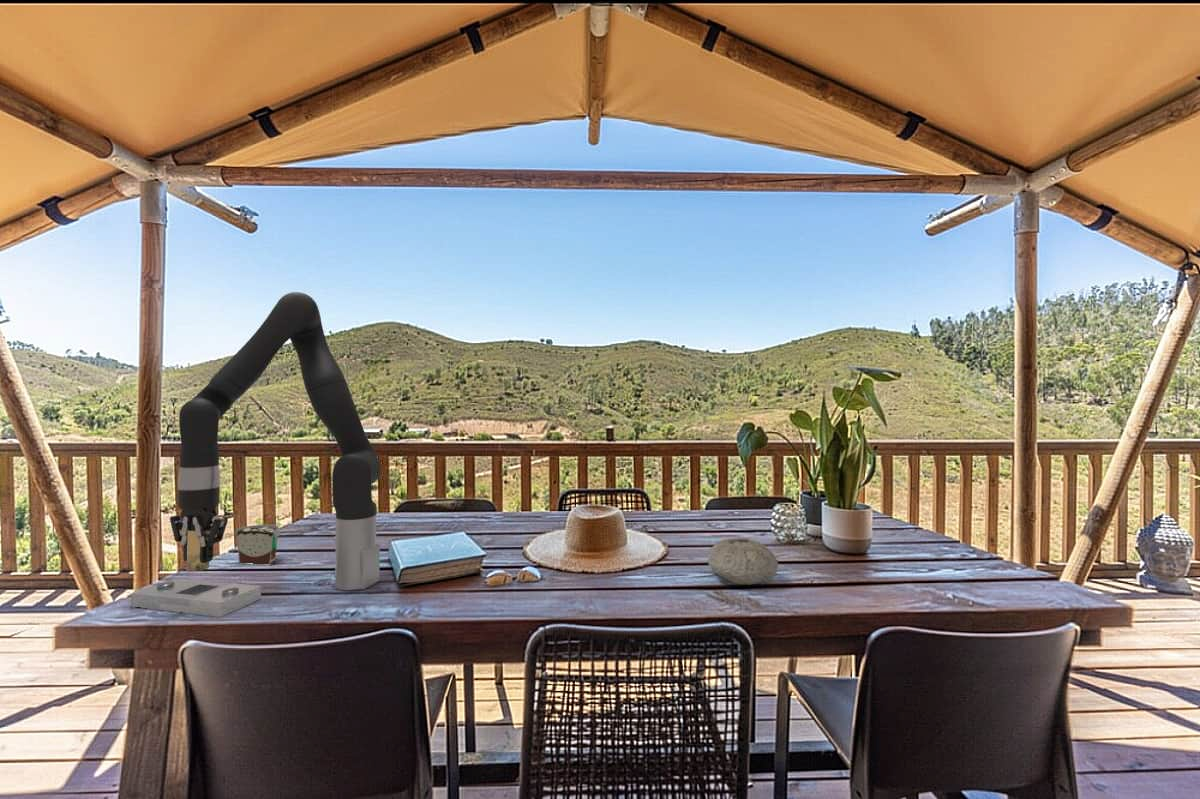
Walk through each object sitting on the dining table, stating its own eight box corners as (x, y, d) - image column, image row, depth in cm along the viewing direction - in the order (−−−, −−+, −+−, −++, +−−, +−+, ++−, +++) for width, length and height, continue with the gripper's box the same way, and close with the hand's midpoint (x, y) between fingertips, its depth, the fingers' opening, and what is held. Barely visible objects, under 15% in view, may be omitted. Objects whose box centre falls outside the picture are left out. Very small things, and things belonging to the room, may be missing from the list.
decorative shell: (792, 587, 125) (792, 547, 125) (733, 596, 119) (733, 554, 119) (748, 565, 142) (748, 530, 142) (694, 572, 136) (694, 536, 136)
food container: (290, 559, 145) (291, 524, 145) (274, 565, 139) (275, 530, 139) (251, 557, 146) (252, 523, 146) (234, 564, 140) (234, 528, 140)
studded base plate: (260, 599, 115) (261, 583, 115) (220, 617, 106) (220, 600, 106) (177, 590, 120) (177, 575, 120) (130, 607, 110) (131, 590, 110)
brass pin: (213, 566, 115) (214, 527, 115) (196, 572, 111) (197, 531, 111) (199, 565, 115) (200, 526, 115) (181, 570, 111) (182, 530, 112)
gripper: (240, 484, 115) (239, 558, 115) (190, 482, 118) (189, 554, 118) (208, 490, 108) (207, 569, 108) (156, 487, 111) (155, 564, 111)
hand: (198, 560), depth 113 cm, fingers closed on brass pin, 4 cm apart
